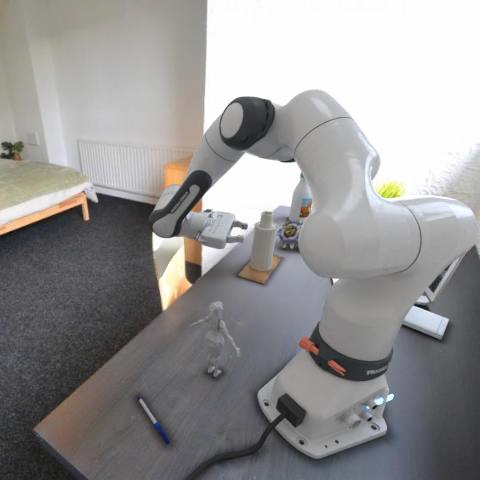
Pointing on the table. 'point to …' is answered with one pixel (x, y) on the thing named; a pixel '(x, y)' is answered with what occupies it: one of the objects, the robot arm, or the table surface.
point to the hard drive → (426, 322)
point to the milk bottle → (301, 201)
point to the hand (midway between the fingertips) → (245, 232)
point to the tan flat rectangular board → (258, 272)
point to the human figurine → (216, 335)
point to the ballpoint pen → (154, 421)
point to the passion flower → (289, 233)
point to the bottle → (263, 242)
